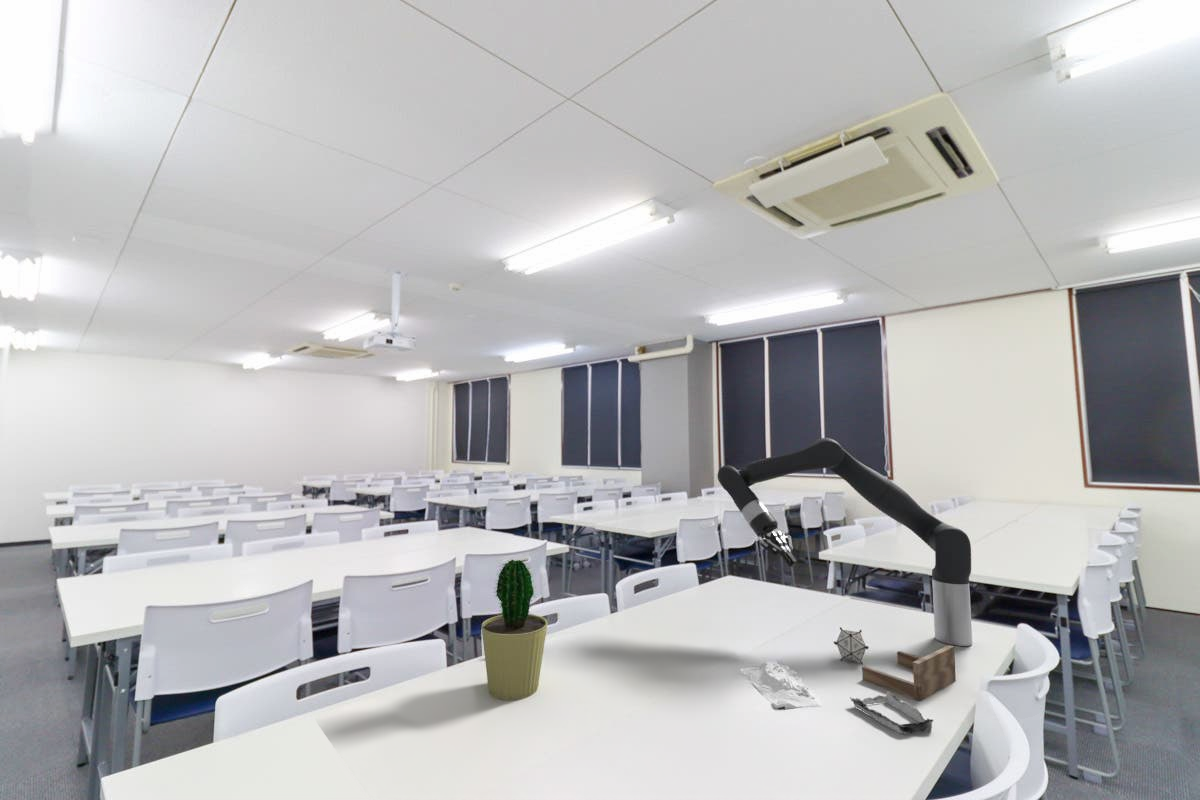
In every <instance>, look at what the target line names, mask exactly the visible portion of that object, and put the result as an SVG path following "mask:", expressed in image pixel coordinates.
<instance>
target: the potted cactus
mask: <svg viewBox="0 0 1200 800" xmlns="http://www.w3.org/2000/svg"><path fill="white" fill-rule="evenodd" d="M501 567H502V569H501V568H499V570H497V573H498V572H499V573H498V574H497V579H496V580H495V581H494V582H495V583H496V588H494V592H493V593H495V595H493V596H494V598H496V597H497V599H498V600H497V601H498V603H500V606H498V607H499V608H500V610H499V611H498V613H499V614H500V615H496V616H493V617H490V618H488V619H486V620H484V621H483V622H482V624H481V625H480V626H481V636H482V643H483V645H482V646H483V650H484V651H483V652H484V653H483V654H484V661H485V669H486V678H487V687H488V692H489V694H490V695H491V696H492V697H494V698H495V699H499V700H504V701H515V700H521V699H526V698H528V697H531V696H532V695H534V694H535V693H536V692H537V690H538V688H539V683H540V676H541V669H542V662H543V655H544V650H545V643H546V636H547V635H546V634H547V631H548V630H547V629H548V624H549V623H548V622H549V621H548V620H547V618H545V617H544V616H540V615H536V614H532V613H530V608H531V609H532V606H531V602H533V600H531V599H532V598H536V596H534V595H536V593H535V589H536V587H534V586H533V580H532V578H533V572H531V571H530V567H529V566H528V565H527V563H526V561H525V559H524V560H523V559H522V560H520V559H517V560H514V559H512V558H511V559H510V560H508V561H507V562H505V563H504V565H501Z"/></svg>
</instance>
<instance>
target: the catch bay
mask: <svg viewBox="0 0 1200 800" xmlns="http://www.w3.org/2000/svg"><path fill="white" fill-rule="evenodd" d="M896 658H897V659H896V660H897V661H896V662H897V663H896V664H897V665H900V666H903V667H906V668H908V669H912V670H913V672H912V673H913V674H912V675H913V682H912V681H911V680H907V679H905V678H904V679H903V678H901V677H898V676H895V675H893V674H889V673H886V672H883V671H880V670H877V669H874V668H871V667H868V666H866V665H864V666H862V667H861V672H862V673H861V674H862V675H861V676H862V677H861V678H862V681H864V680H865V681H864V682H867V683H869V682H870V684H872V683H873V685H875V684H876V685H875V686H878V687H880V686H881V687H880V688H883V689H886V688H887V689H886V690H888V691H891V690H892V692H895V693H898V694H899V695H902V696H905V697H908V698H911V699H914V700H917V701H919V702H921V701H922V700H925V699H926V698H928V697H929V696H932V695H934V694H935V693H937V692H939V691H940V690H942V689H944V688H945V687H947V686H948V685H951V684H952V683H954V682H956V681H957V680H956V660H955V659H956V658H955V645H951V644H948V645H946V646H944V647H941V648H940V649H938V650H937V649H936V651H934V652H931V653H929V654H927V655H925V656H923V657H920V656H918V655H915V654H911V653H907V652H904V651H902V650H901V651H900V650H898V651H897V652H896Z"/></svg>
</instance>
